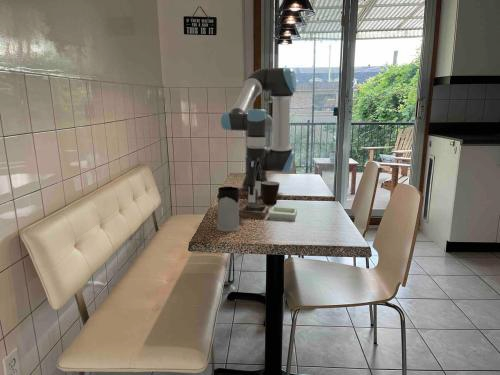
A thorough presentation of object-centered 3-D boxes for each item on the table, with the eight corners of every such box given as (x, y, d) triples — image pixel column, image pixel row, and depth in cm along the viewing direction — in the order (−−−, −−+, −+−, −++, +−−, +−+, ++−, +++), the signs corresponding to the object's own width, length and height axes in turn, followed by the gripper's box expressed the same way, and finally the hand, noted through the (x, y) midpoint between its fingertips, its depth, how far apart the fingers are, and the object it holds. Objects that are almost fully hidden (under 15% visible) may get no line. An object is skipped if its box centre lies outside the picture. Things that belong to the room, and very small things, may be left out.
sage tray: (272, 212, 165) (272, 206, 164) (296, 214, 163) (297, 208, 162) (268, 218, 155) (269, 212, 154) (294, 220, 153) (295, 215, 152)
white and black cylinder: (214, 230, 138) (214, 190, 135) (222, 219, 152) (222, 183, 149) (237, 232, 137) (238, 191, 134) (243, 221, 151) (244, 184, 148)
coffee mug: (272, 206, 174) (272, 185, 172) (257, 203, 179) (257, 182, 177) (285, 202, 183) (286, 182, 181) (270, 199, 188) (271, 179, 186)
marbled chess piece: (244, 213, 161) (244, 186, 159) (254, 211, 165) (254, 184, 163) (254, 216, 157) (254, 188, 155) (263, 214, 161) (264, 186, 159)
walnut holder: (244, 209, 167) (244, 204, 167) (268, 211, 165) (268, 206, 165) (238, 216, 157) (238, 210, 156) (264, 218, 155) (264, 212, 154)
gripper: (252, 144, 167) (251, 192, 172) (240, 149, 145) (239, 204, 149) (269, 145, 166) (267, 193, 170) (259, 150, 143) (258, 206, 148)
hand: (254, 198), depth 160 cm, fingers open, 11 cm apart
